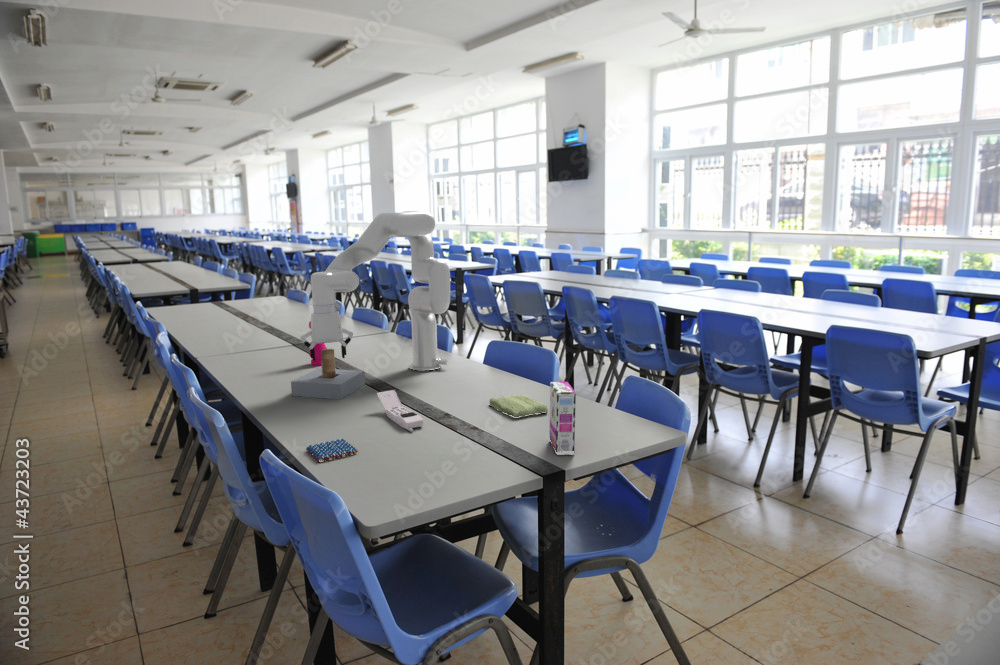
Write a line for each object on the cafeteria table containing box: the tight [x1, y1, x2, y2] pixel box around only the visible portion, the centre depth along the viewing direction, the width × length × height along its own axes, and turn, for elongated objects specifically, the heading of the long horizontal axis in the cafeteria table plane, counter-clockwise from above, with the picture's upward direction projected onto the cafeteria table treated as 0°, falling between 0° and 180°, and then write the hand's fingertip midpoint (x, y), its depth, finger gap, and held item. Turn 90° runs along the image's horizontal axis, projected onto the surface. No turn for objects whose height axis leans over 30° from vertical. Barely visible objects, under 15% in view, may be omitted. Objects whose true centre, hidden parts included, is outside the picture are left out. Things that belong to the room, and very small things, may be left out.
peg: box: [321, 348, 336, 379], centre depth 223 cm, size 4×4×14 cm
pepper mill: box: [308, 320, 328, 367], centre depth 260 cm, size 7×7×20 cm
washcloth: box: [489, 394, 549, 417], centre depth 202 cm, size 13×18×3 cm
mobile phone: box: [376, 389, 424, 433], centre depth 193 cm, size 6×6×25 cm
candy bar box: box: [549, 381, 577, 452], centre depth 168 cm, size 11×5×16 cm, turn 5°
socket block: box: [290, 368, 366, 400], centre depth 224 cm, size 18×18×5 cm
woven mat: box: [305, 438, 359, 462], centre depth 168 cm, size 10×11×2 cm
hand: (328, 358), depth 223 cm, fingers open, 9 cm apart
